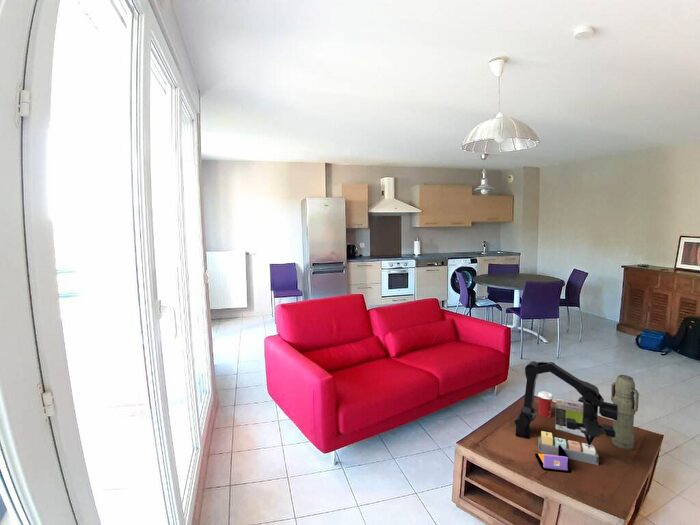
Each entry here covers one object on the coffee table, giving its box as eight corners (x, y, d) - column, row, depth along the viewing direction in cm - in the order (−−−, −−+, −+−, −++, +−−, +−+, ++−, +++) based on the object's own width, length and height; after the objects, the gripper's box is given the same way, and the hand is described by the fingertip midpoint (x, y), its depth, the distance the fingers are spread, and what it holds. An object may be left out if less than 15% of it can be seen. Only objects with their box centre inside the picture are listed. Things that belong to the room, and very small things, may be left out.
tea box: (587, 429, 187) (588, 403, 186) (588, 438, 178) (589, 411, 177) (555, 421, 195) (556, 396, 194) (554, 430, 186) (555, 404, 185)
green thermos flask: (614, 436, 180) (617, 371, 177) (640, 448, 169) (644, 379, 167) (603, 440, 177) (606, 373, 174) (630, 453, 166) (633, 383, 163)
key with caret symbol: (554, 450, 166) (555, 441, 166) (554, 445, 170) (554, 436, 170) (566, 453, 164) (566, 444, 164) (564, 448, 168) (565, 439, 168)
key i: (541, 444, 169) (541, 435, 168) (540, 439, 173) (541, 430, 172) (552, 446, 167) (552, 437, 166) (551, 441, 171) (551, 432, 170)
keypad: (538, 451, 168) (539, 443, 168) (538, 443, 174) (538, 436, 174) (598, 465, 158) (598, 456, 158) (595, 456, 164) (595, 448, 164)
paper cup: (554, 421, 195) (555, 397, 194) (539, 420, 197) (540, 396, 196) (549, 414, 203) (550, 391, 202) (535, 413, 204) (536, 390, 203)
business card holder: (572, 474, 153) (572, 459, 152) (542, 470, 155) (543, 456, 155) (561, 457, 164) (561, 443, 164) (534, 454, 167) (534, 440, 166)
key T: (583, 457, 161) (583, 447, 161) (581, 451, 165) (581, 442, 165) (595, 459, 159) (595, 450, 159) (593, 454, 163) (593, 445, 163)
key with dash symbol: (568, 453, 164) (569, 444, 163) (567, 448, 168) (567, 439, 168) (580, 456, 162) (580, 447, 161) (578, 451, 166) (579, 442, 166)
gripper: (568, 416, 157) (567, 449, 159) (619, 425, 149) (618, 460, 151) (565, 405, 167) (564, 436, 169) (613, 413, 159) (611, 446, 161)
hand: (588, 444), depth 162 cm, fingers closed
